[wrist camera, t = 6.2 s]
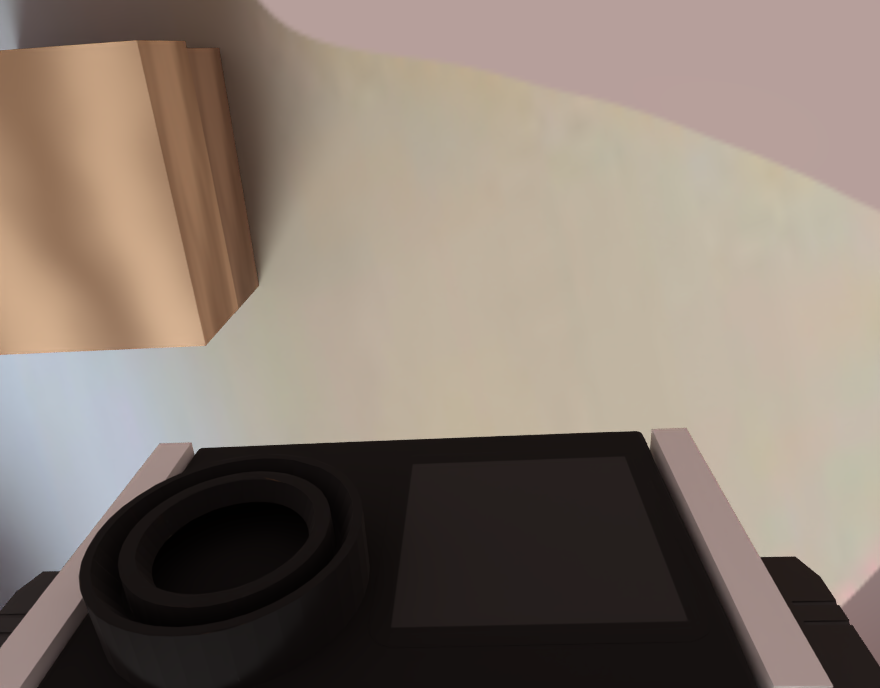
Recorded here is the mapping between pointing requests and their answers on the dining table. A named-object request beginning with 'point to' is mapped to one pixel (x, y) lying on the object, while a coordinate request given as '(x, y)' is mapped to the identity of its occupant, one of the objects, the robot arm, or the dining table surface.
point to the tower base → (224, 166)
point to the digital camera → (403, 572)
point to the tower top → (107, 202)
